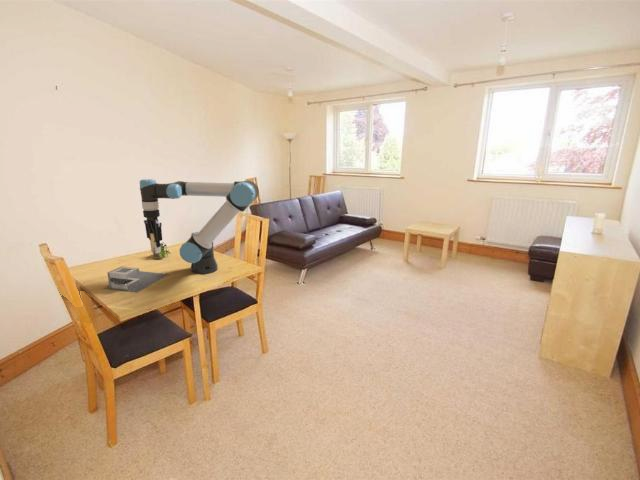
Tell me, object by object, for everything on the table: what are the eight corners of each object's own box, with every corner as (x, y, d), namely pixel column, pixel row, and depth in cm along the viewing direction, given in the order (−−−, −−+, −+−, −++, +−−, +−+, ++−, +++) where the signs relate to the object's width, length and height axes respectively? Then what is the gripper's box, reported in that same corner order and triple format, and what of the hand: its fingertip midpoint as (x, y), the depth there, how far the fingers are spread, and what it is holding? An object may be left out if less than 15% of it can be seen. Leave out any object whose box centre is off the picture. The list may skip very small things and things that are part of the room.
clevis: (140, 283, 162) (138, 268, 160) (127, 290, 154) (125, 274, 151) (123, 281, 164) (121, 266, 161) (109, 288, 155) (107, 272, 153)
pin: (161, 255, 170) (159, 232, 167) (157, 257, 167) (154, 234, 163) (156, 255, 171) (153, 232, 167) (151, 257, 167) (148, 233, 164)
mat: (169, 274, 176) (169, 274, 175) (137, 293, 152) (137, 292, 152) (139, 271, 178) (139, 271, 178) (103, 289, 155) (103, 288, 155)
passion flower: (156, 264, 207) (153, 247, 210) (173, 260, 209) (170, 243, 213) (150, 259, 196) (148, 242, 199) (169, 255, 199) (166, 238, 202)
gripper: (166, 210, 160) (171, 253, 166) (149, 206, 169) (154, 247, 175) (152, 212, 154) (157, 256, 160) (135, 208, 163) (141, 250, 169)
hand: (156, 251), depth 168 cm, fingers closed on pin, 3 cm apart
